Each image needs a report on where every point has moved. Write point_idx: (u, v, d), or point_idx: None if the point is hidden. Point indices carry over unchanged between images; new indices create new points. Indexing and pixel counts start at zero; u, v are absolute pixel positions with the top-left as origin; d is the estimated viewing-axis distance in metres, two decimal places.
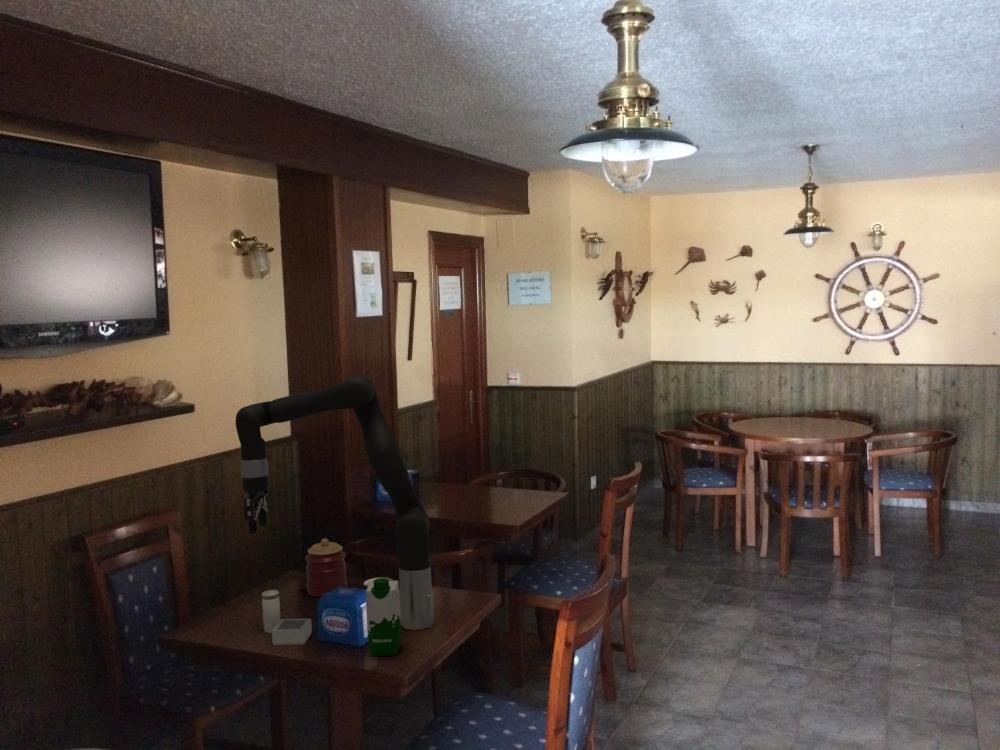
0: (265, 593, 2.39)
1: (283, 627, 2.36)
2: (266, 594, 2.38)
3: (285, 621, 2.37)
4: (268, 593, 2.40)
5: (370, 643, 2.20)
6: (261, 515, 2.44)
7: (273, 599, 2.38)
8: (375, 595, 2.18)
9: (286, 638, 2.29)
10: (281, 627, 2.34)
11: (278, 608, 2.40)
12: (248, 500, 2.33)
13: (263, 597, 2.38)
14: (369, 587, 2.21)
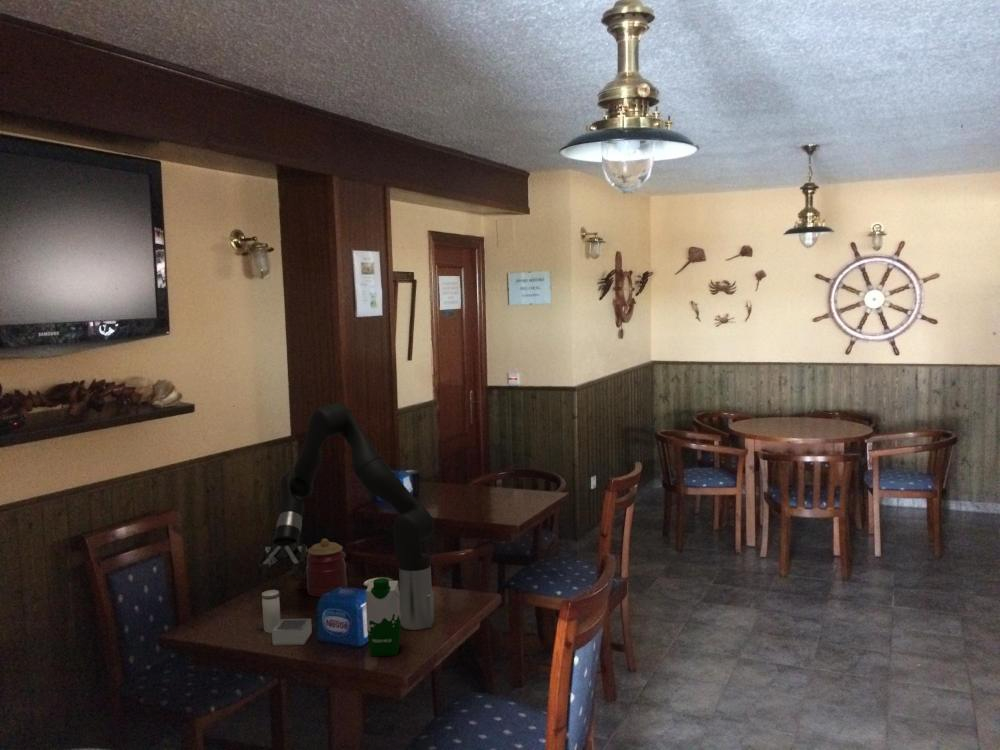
0: (265, 593, 2.39)
1: (283, 627, 2.36)
2: (266, 594, 2.38)
3: (285, 621, 2.37)
4: (268, 593, 2.40)
5: (370, 643, 2.20)
6: None
7: (273, 599, 2.38)
8: (375, 595, 2.18)
9: (286, 638, 2.29)
10: (281, 627, 2.34)
11: (278, 608, 2.40)
12: None
13: (263, 597, 2.38)
14: (369, 587, 2.21)
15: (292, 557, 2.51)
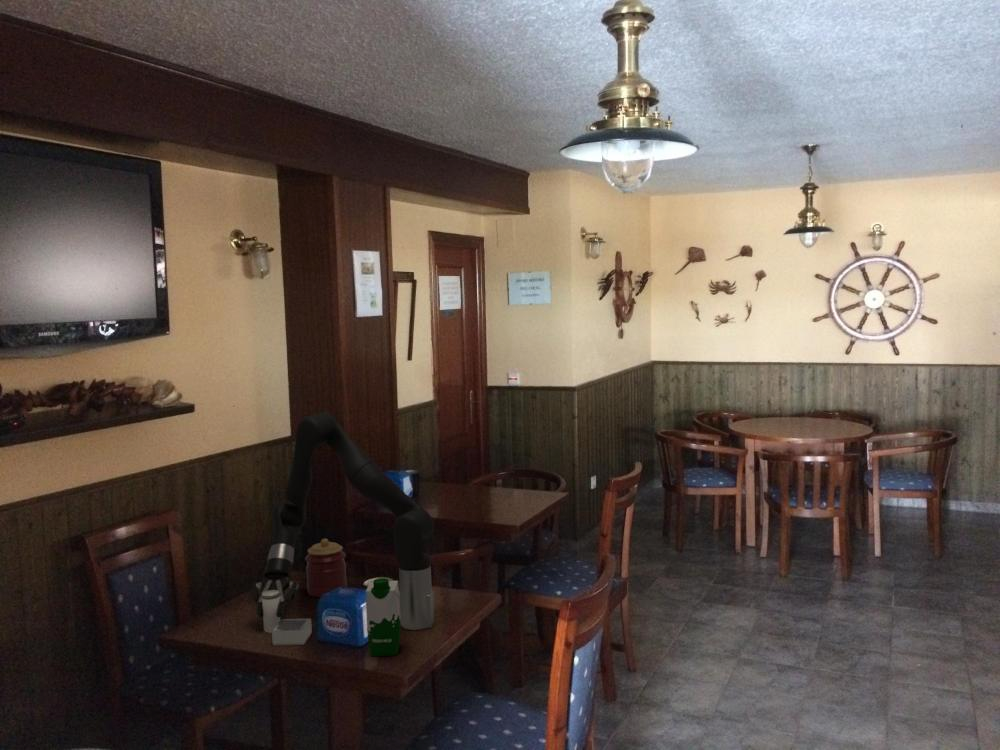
0: (265, 593, 2.39)
1: (283, 627, 2.36)
2: (266, 594, 2.38)
3: (285, 621, 2.37)
4: (268, 592, 2.40)
5: (370, 643, 2.20)
6: None
7: (273, 599, 2.38)
8: (375, 595, 2.18)
9: (286, 638, 2.29)
10: (281, 627, 2.34)
11: None
12: None
13: (263, 597, 2.38)
14: (369, 587, 2.21)
15: (280, 594, 2.41)
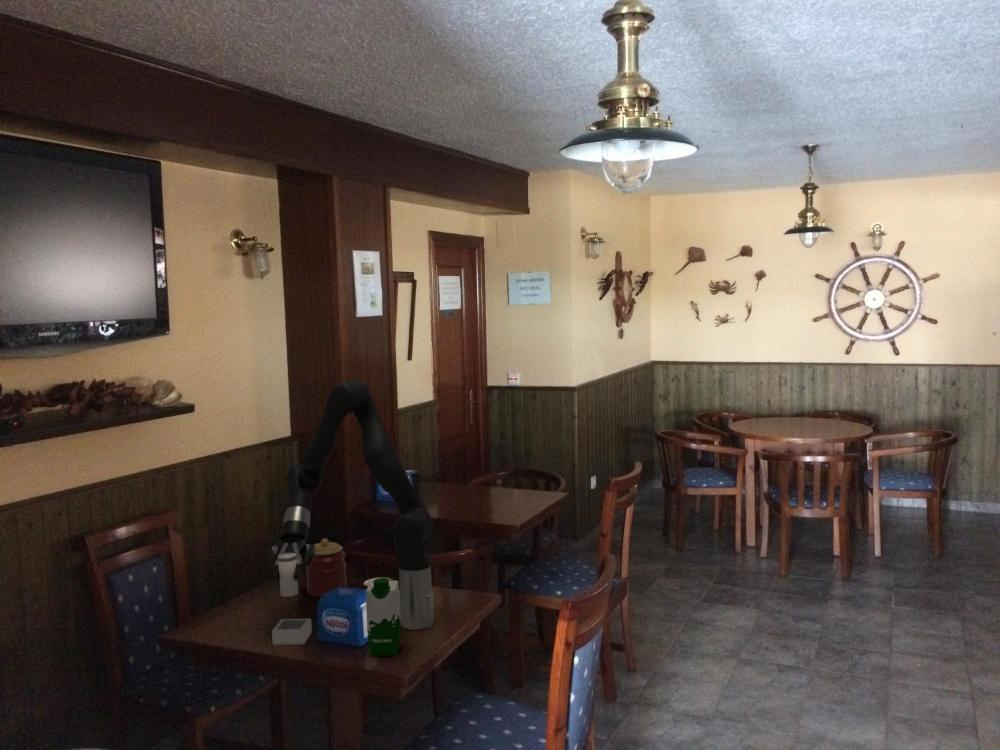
0: (281, 556, 2.32)
1: (283, 627, 2.36)
2: (282, 556, 2.31)
3: (285, 621, 2.37)
4: (284, 555, 2.32)
5: (370, 643, 2.20)
6: None
7: (290, 562, 2.30)
8: (375, 595, 2.18)
9: (286, 638, 2.29)
10: (281, 627, 2.34)
11: None
12: None
13: (279, 559, 2.30)
14: (369, 587, 2.21)
15: (296, 556, 2.34)
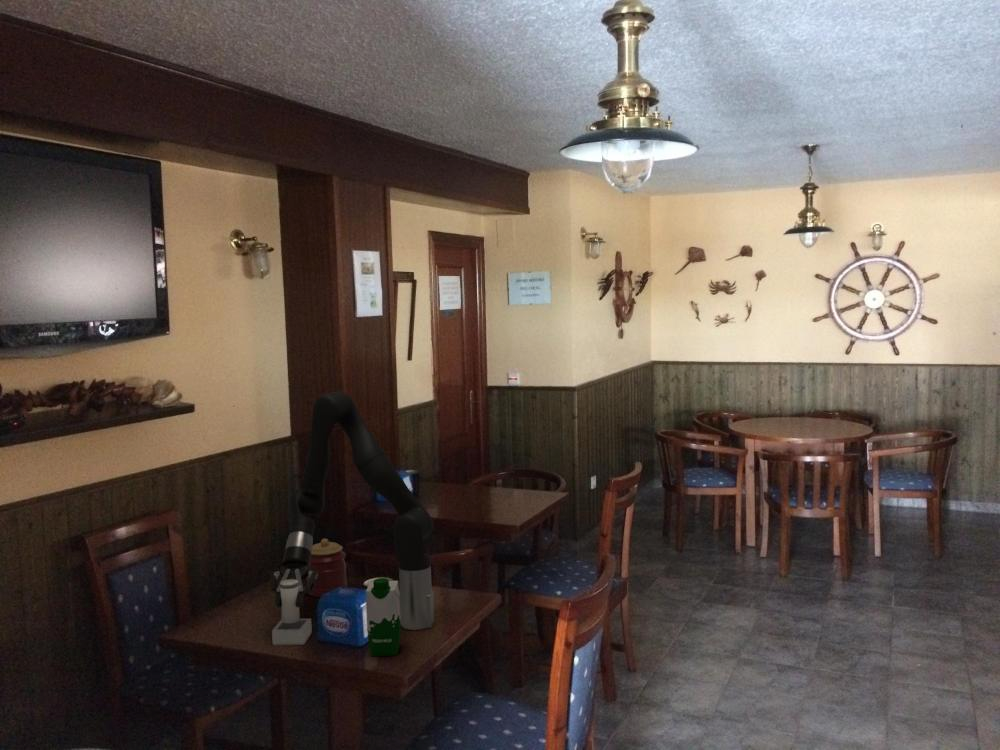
0: (284, 582, 2.32)
1: (283, 627, 2.36)
2: (284, 583, 2.31)
3: None
4: (286, 582, 2.32)
5: (370, 643, 2.20)
6: None
7: (292, 589, 2.30)
8: (375, 595, 2.18)
9: (286, 638, 2.29)
10: (281, 627, 2.34)
11: None
12: None
13: (282, 586, 2.30)
14: (369, 587, 2.21)
15: (298, 583, 2.33)
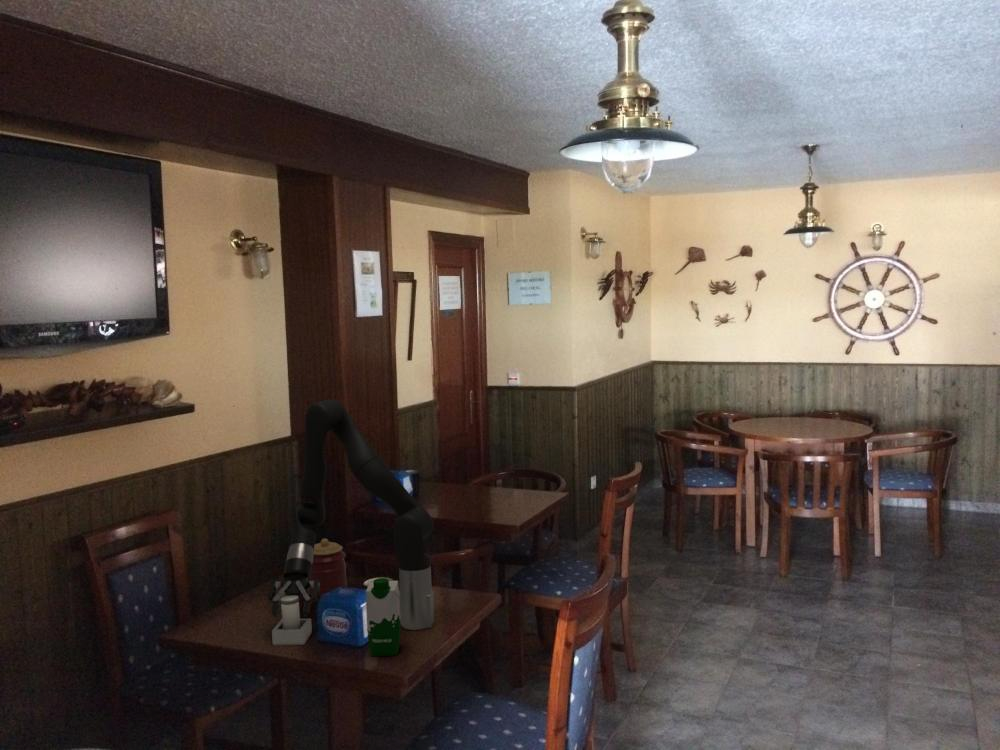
0: (284, 598, 2.32)
1: None
2: (285, 599, 2.31)
3: None
4: (287, 598, 2.33)
5: (370, 643, 2.20)
6: None
7: (292, 605, 2.31)
8: (375, 595, 2.18)
9: (286, 638, 2.29)
10: (281, 627, 2.34)
11: (298, 613, 2.32)
12: None
13: (282, 602, 2.31)
14: (369, 587, 2.21)
15: (303, 593, 2.34)
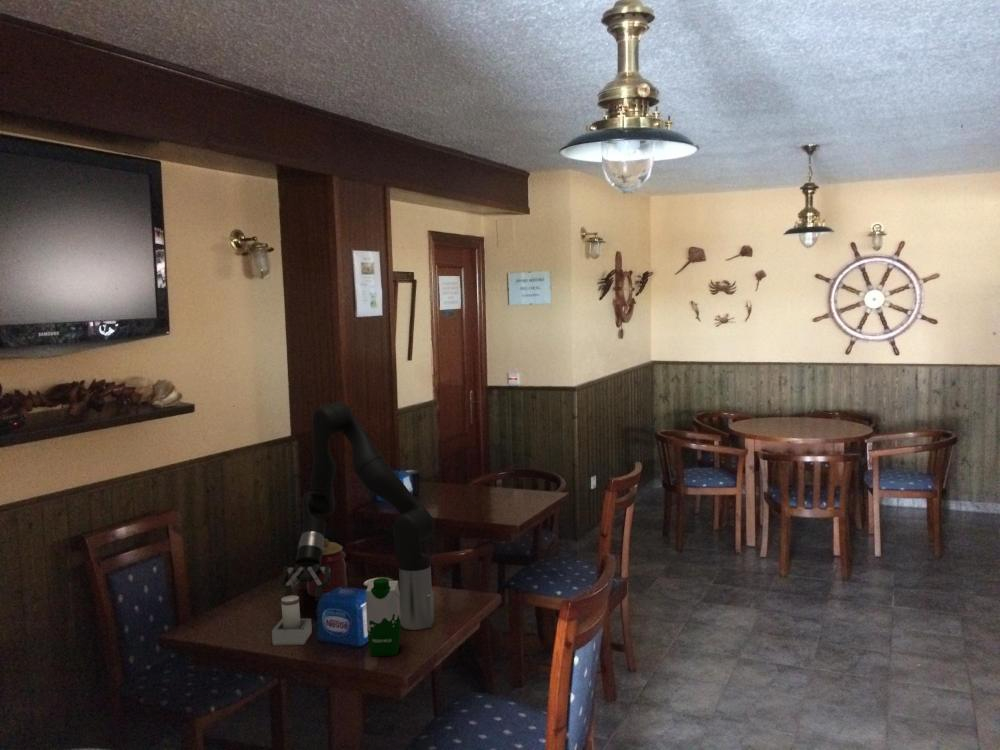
0: (285, 599, 2.32)
1: None
2: (285, 600, 2.31)
3: None
4: (287, 598, 2.33)
5: (370, 643, 2.20)
6: None
7: (293, 605, 2.31)
8: (375, 595, 2.18)
9: (286, 638, 2.29)
10: (281, 627, 2.34)
11: (298, 614, 2.32)
12: None
13: (283, 603, 2.31)
14: (369, 587, 2.21)
15: (315, 578, 2.46)
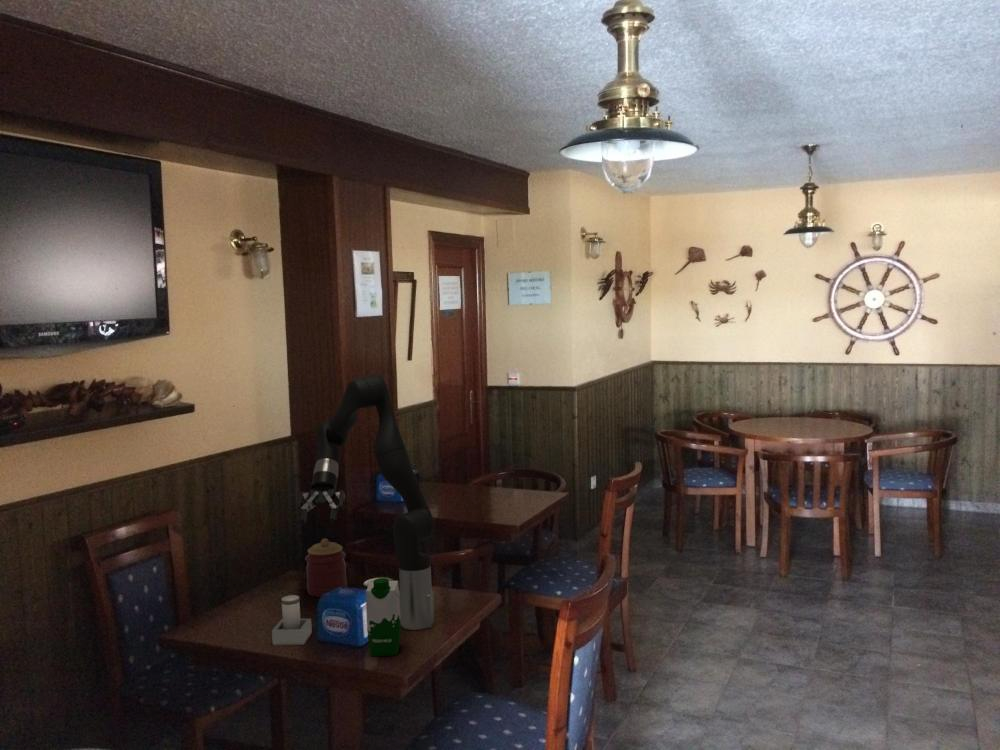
0: (285, 598, 2.33)
1: None
2: (286, 599, 2.31)
3: None
4: (288, 598, 2.33)
5: (370, 643, 2.20)
6: None
7: (293, 605, 2.31)
8: (375, 595, 2.18)
9: (286, 638, 2.29)
10: (281, 627, 2.34)
11: (298, 614, 2.32)
12: None
13: (283, 602, 2.31)
14: (369, 587, 2.21)
15: (330, 502, 2.51)
